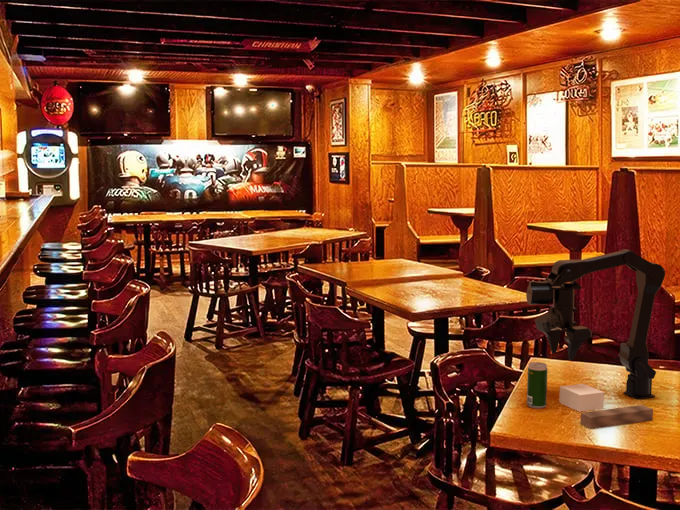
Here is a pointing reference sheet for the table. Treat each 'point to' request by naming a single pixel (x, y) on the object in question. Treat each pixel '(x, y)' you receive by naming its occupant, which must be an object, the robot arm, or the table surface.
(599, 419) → the board
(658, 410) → the table surface
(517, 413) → the table surface
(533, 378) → the beer can
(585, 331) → the robot arm
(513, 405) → the table surface
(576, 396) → the block
